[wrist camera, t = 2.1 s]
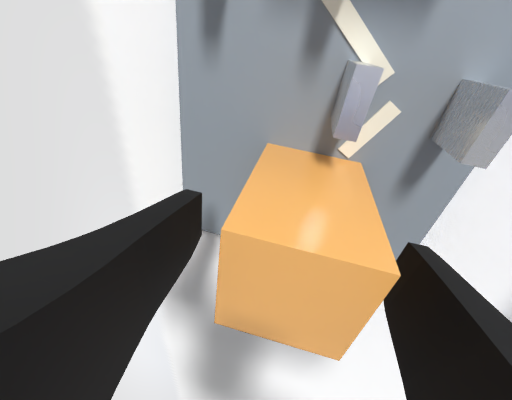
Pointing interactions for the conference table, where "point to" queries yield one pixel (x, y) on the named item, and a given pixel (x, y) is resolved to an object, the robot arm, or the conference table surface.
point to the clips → (450, 124)
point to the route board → (333, 93)
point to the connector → (304, 253)
